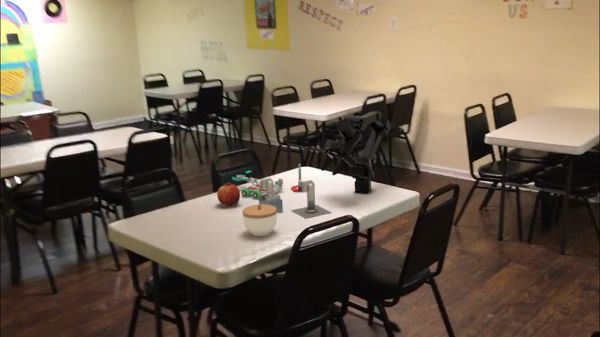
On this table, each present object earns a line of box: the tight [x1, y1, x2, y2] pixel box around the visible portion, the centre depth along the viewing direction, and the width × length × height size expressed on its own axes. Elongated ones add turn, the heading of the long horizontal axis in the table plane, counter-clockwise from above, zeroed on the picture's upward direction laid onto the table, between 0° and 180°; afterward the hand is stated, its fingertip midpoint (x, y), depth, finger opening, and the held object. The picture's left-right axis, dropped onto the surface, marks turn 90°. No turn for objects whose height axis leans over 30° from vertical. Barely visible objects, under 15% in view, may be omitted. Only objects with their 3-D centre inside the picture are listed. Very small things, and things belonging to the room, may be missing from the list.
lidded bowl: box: [241, 203, 278, 237], centre depth 217 cm, size 13×13×11 cm
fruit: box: [216, 181, 241, 207], centre depth 252 cm, size 11×10×10 cm
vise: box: [258, 177, 284, 213], centre depth 243 cm, size 7×10×14 cm
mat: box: [290, 204, 332, 219], centre depth 240 cm, size 12×12×1 cm
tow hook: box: [290, 163, 307, 193], centre depth 271 cm, size 8×13×9 cm
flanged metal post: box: [302, 179, 318, 213], centre depth 238 cm, size 6×5×13 cm
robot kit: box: [231, 170, 284, 200], centre depth 270 cm, size 19×25×9 cm
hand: (327, 172), depth 247 cm, fingers open, 9 cm apart
